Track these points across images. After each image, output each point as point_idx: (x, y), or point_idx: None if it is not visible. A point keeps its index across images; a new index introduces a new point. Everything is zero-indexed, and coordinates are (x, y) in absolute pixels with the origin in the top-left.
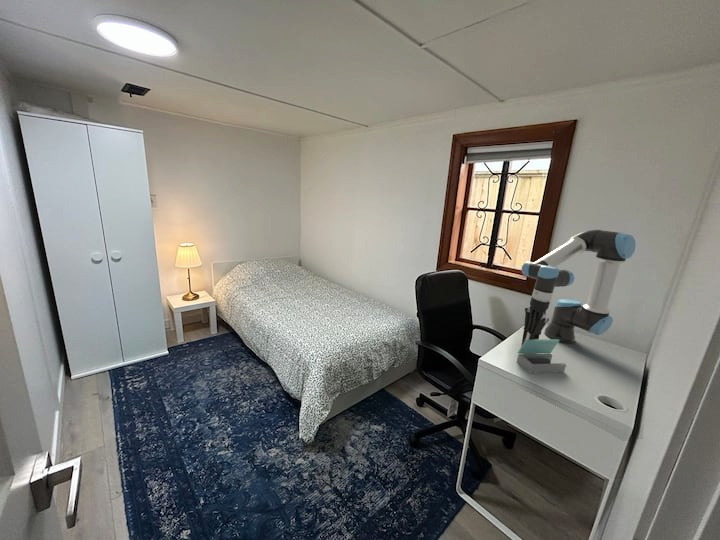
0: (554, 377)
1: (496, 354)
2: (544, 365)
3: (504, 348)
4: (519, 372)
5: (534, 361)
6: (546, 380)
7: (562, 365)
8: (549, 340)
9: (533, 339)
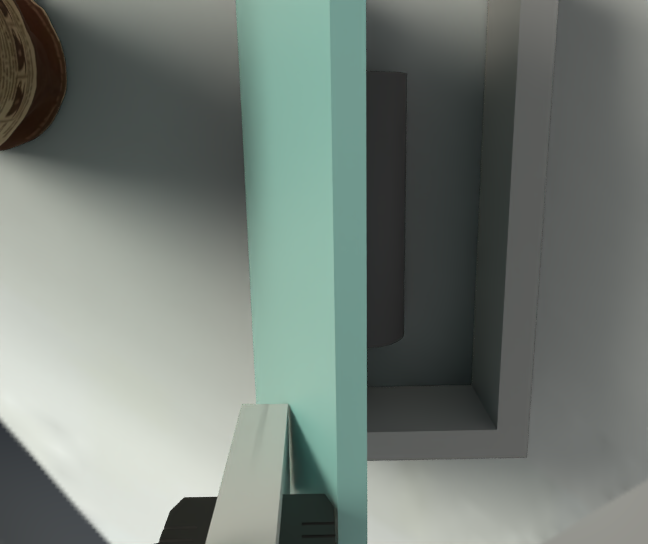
0: (594, 195)
1: (153, 540)
2: (536, 300)
3: (8, 375)
4: (473, 507)
5: (393, 313)
6: (625, 329)
7: (554, 11)
8: (365, 132)
9: (333, 511)
